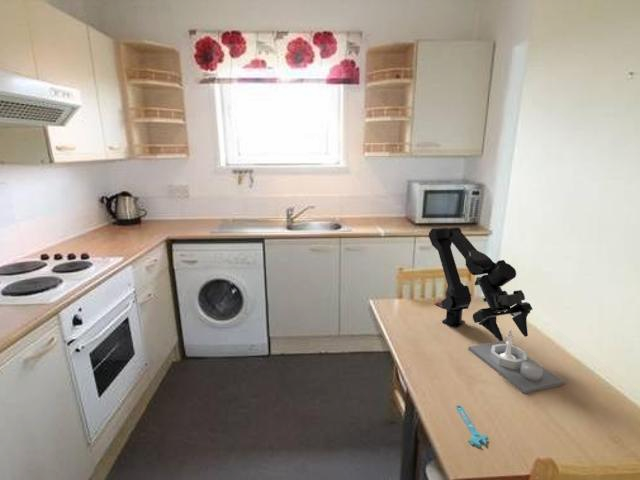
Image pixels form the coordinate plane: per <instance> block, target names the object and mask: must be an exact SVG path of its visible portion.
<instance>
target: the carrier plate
mask: <svg viewBox="0 0 640 480" xmlns="http://www.w3.org/2000/svg"><path fill="white" fill-rule="evenodd" d="M506 348H507V344H506V341H504V340H503V341H499V340H498V341H494V342H486V343H481V344H475V345H472V346H468V348H467V350H469V351H470V352H471V353H472V354H474V355H475V356H476V357H477V358H478V359H480V360H481V361H482V362H484V363H485V364H486V365H487V366H489V367H490V368H491V369H492V370H494V371H495V372H496V373H498V374H499V375H500V376H501V377H503V379H505V380H507V382H508V383H510V384H511V385H512V386H514V387H515V389H516V388H517V390H519V391H521V392H522V394H523V395H524V394H529V393H534V392H538V391H543V390H546V389H552V388H556V387H560V386H564V385H565V380H563V379H561V378H559V377H558V376H557V375H555V374H554V373H552V372H551V371H549V370H548V369H546V368H545V367H543V366H542V365H540V364H539V363H538V362H536V361H534V359H533V360H532V359H531V358H530V357H529V356H528V353H527V352H526V351H524V350H522V349H521V348H520V347H518V346H515V345H511V354H512V355H513V356H515V358H516V360H512V359H508V358H504V357H501V356H500V354H501V353H505V352H506Z"/></svg>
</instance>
